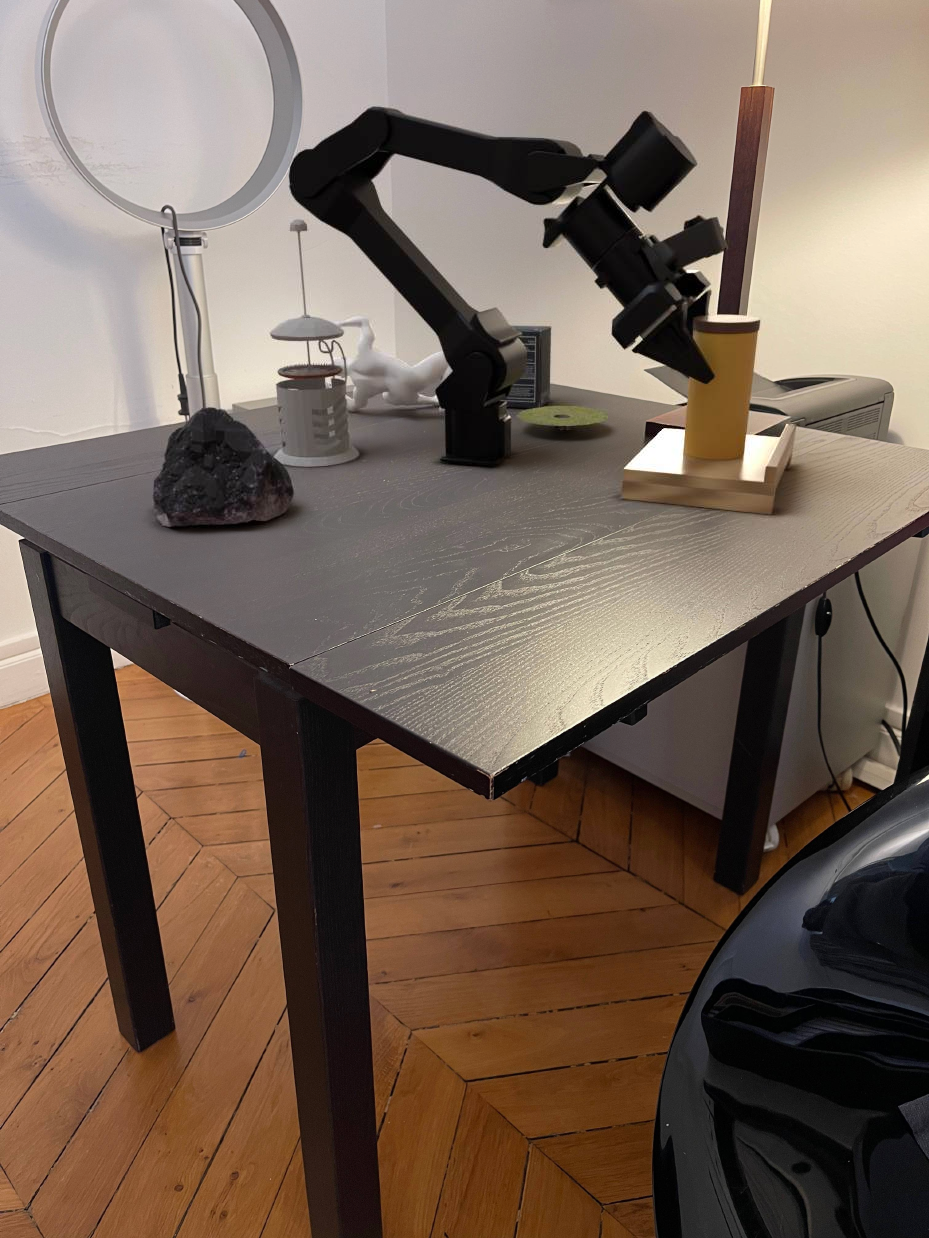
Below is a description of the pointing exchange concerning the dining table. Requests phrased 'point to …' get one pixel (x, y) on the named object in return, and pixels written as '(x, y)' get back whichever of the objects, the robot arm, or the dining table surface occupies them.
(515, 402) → the small box
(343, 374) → the white curved figure
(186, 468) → the crystal cluster
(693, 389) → the tea tin
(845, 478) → the dining table surface
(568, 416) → the green disc
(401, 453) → the dining table surface
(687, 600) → the dining table surface
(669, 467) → the oak shelf
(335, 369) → the french press
